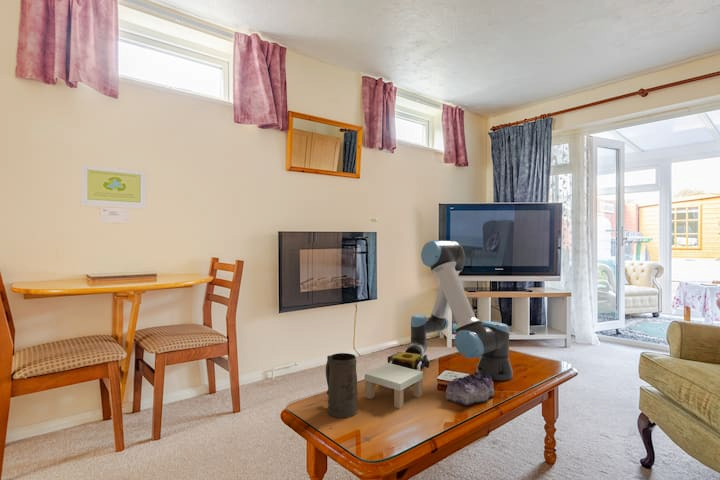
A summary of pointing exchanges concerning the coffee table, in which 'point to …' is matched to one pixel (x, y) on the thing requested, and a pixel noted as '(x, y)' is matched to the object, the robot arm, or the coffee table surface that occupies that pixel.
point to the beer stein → (341, 385)
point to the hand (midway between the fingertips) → (404, 367)
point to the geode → (470, 389)
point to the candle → (406, 360)
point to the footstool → (394, 381)
